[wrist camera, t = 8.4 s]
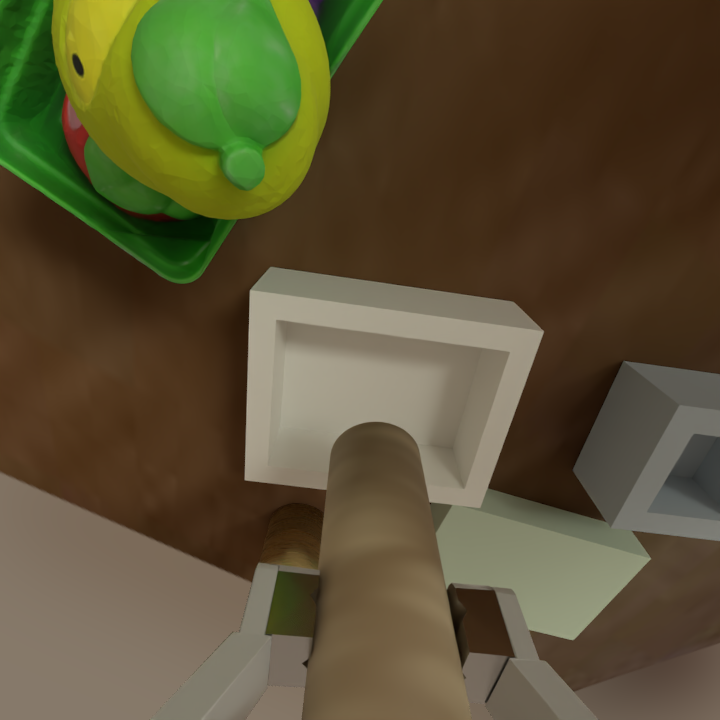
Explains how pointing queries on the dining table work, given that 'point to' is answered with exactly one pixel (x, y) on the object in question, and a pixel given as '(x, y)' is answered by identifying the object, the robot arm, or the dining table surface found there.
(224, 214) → the fruit basket
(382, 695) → the dowel
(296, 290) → the tray
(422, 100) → the dining table surface
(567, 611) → the plate board
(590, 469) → the socket block
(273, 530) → the cylinder
